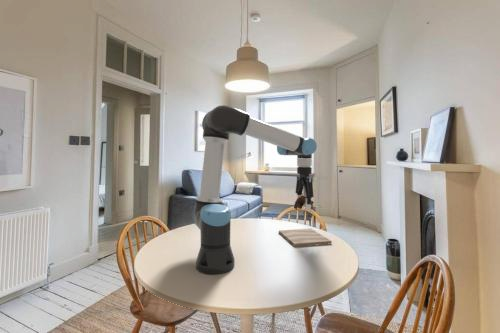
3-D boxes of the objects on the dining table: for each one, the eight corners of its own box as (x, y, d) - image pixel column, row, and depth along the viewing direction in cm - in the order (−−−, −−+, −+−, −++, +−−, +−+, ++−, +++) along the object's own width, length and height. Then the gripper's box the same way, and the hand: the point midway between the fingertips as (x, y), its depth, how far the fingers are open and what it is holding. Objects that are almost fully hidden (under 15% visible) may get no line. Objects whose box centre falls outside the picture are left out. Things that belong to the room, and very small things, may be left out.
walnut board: (331, 243, 119) (331, 240, 119) (294, 246, 115) (294, 243, 115) (310, 230, 141) (310, 228, 141) (278, 233, 136) (278, 230, 136)
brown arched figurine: (294, 207, 134) (302, 194, 134) (309, 216, 129) (317, 203, 129) (288, 205, 123) (297, 191, 123) (304, 215, 119) (313, 201, 119)
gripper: (321, 167, 117) (320, 212, 118) (301, 165, 138) (301, 204, 139) (307, 167, 115) (306, 213, 116) (289, 166, 136) (289, 204, 137)
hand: (303, 208), depth 127 cm, fingers closed on brown arched figurine, 9 cm apart
